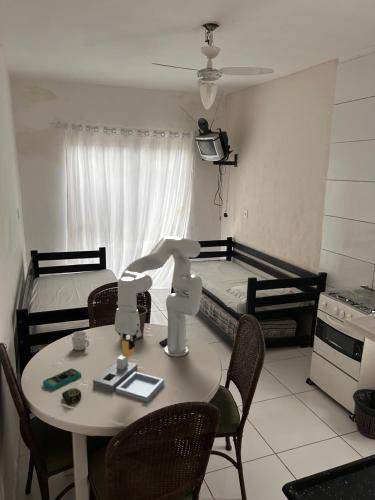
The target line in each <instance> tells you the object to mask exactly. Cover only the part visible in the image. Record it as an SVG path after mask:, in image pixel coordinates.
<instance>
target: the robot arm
mask: <svg viewBox="0 0 375 500" xmlns="http://www.w3.org/2000/svg"><path fill="white" fill-rule="evenodd" d="M201 249H202V248H201V243H199V241H198V240H195V239H189V238H185V237H180V236H179V237H178V236H171V235H167V236H164V237H162V238H161V239H160V240H159V241H158V243H156V245H155V246H154V248H152V250H151V251H150V252H149V253H148V254H146V255H143V256H141V257H139V258H138V259H136V260H134V261H132V262H131V263H130V264H129V265H128V266H127V267H126V268H125V269H124V270H123V272H122V273H121V276H120V278H119V279H118V281H117V298H118V299H117V301H116V303H115V305H116V306H117V307H118V308H116V311H115V316H114V317H115V318H114V331H115V332H116V333H117V334H118V335H119V338H120V339H121V340H122V338H123V337H125V336H126V334H127V335H130V341H129V349H130V350H131V349H132V348H134V349H135V345H136V341H135V339H136V338H137V337H140V336H141V335H142V334H141V331H140V320H139V313H138V310H137V305H138V303H137V294H138V293H145V292H147V291H149V290H150V289H151V288H152V286H153V281H154V280H153V279H152V277H151V276H150V275H148V274H146V273H144V272H149V271H154V270H158V269H160V268H163V267H164V266H165V264H166V263H167V262H168V261H169V259H170V258H171V256H172V258H173V261H174V263H173V265H174V267H173V273H172V280H171V286H172V289H173V290H175V291H178V292H173V293H169V294H168V295H167V296H166V299H165V300H166V301H165V306H166V312H167V345H166V346H165V347H164V353H165V354H166V355H168V356H169V357H177V358H178V357H183V356H185V355H187V354H188V353H189V347H188V346H187V344H186V343H187V342H188V338H187V319H186V318H187V317H186V315H187V316H189V317H190V316H192V317H193V316H196V315H197V314H198V313H199V310H200V305H201V298H202V292H203V280H202V278H201V277H200V276H199V275H197V274H191V268H192V267H191V266H192V262H191V259H190V258H197V257H198V256H199V255H200V252H201ZM179 292H182V293H179ZM183 293H187V294H189V295H187V294H183ZM136 332H137V334H136Z"/></svg>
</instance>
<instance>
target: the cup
mask: <svg viewBox="0 0 375 500" xmlns="http://www.w3.org/2000/svg"><path fill="white" fill-rule="evenodd" d="M71 343H72V347H73V349H74V350H75V351H82V350H85V349H86V348H88V347H89V345H90V340H89V338H88V333H87V332H86V331H83V330H79V331H74V332H73V333H71Z"/></svg>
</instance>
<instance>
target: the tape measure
mask: <svg viewBox="0 0 375 500" xmlns="http://www.w3.org/2000/svg"><path fill="white" fill-rule="evenodd" d="M61 395H62V398H63V400H65V403H66V405H68V406H71V405H72V404H75V403H77V402H79V401H80V400H81V398H82V391H81V390H80V389H79V388H77V387H75V388H69V389H67V390H65V391H63V392H61Z"/></svg>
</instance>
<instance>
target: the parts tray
mask: <svg viewBox="0 0 375 500" xmlns="http://www.w3.org/2000/svg"><path fill="white" fill-rule="evenodd" d="M164 385H165V378H162V377H157V376H153V375H150V374H146V373H143V372H138V371H135V372H134V373H133V374H131V375H130V376H129V377H128V378H127V379H126V380H125V381H123V382H122V383H121V384H120V385H119V386H118V387H117V388H116V389H115V393H116V394H120V395H123V396H126V397H129V398H133V399H136V400H140V401H143V403H146V404H148V402H149V401H150V400H151V399H152V398H153V397H154V396H155V395H156V394H157V393H158V391H160V389H161V388H162V387H163V386H164Z"/></svg>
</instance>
